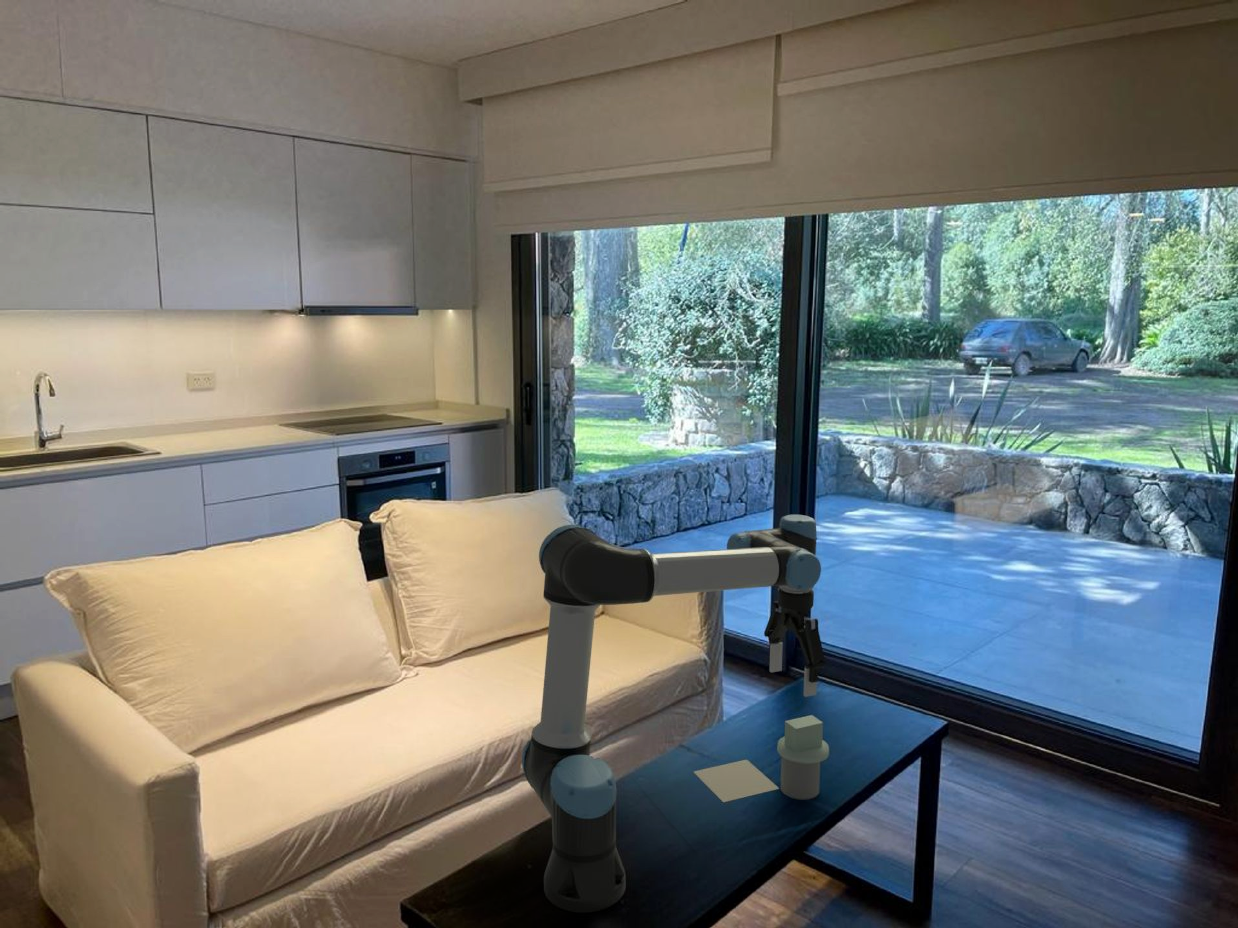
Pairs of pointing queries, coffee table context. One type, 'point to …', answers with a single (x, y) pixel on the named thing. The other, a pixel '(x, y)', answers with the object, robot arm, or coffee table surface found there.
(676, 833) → the coffee table surface
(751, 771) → the mat
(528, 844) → the coffee table surface
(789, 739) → the lid
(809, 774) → the cup
